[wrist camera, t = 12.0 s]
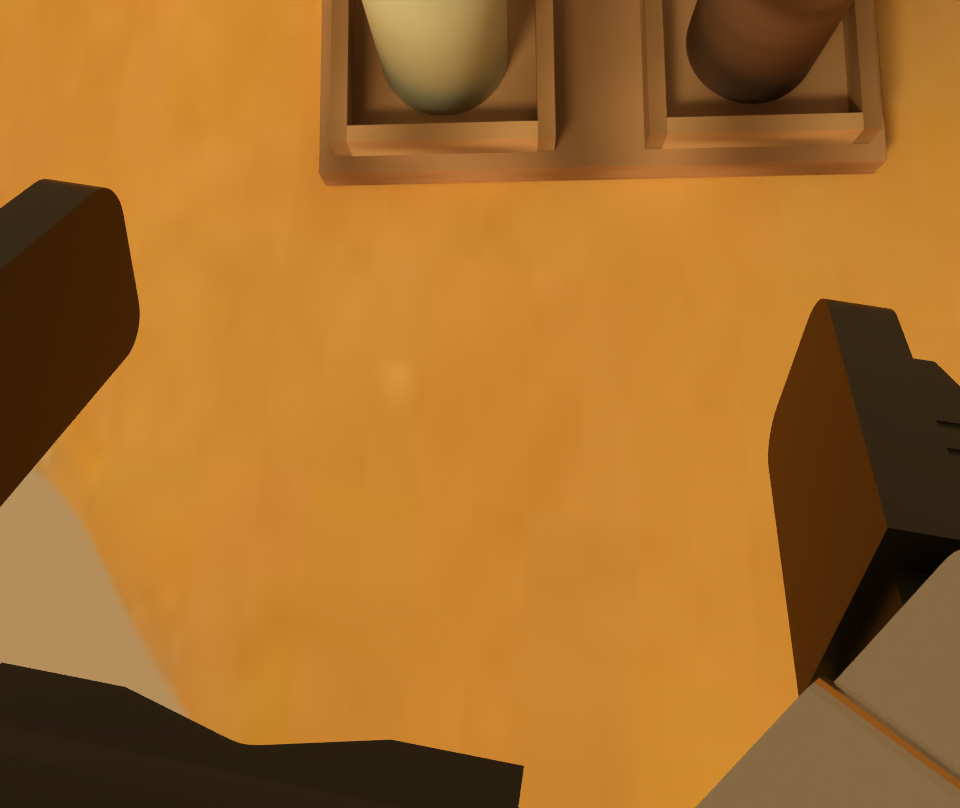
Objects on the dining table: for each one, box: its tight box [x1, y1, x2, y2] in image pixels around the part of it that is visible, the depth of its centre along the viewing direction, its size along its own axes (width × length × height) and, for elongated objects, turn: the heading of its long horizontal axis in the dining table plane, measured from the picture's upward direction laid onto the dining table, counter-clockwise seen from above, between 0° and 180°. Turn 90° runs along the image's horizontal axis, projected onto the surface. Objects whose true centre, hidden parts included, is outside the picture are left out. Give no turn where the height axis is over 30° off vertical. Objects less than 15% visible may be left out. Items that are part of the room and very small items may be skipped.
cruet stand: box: [319, 0, 887, 186], centre depth 33 cm, size 20×9×2 cm, turn 91°
